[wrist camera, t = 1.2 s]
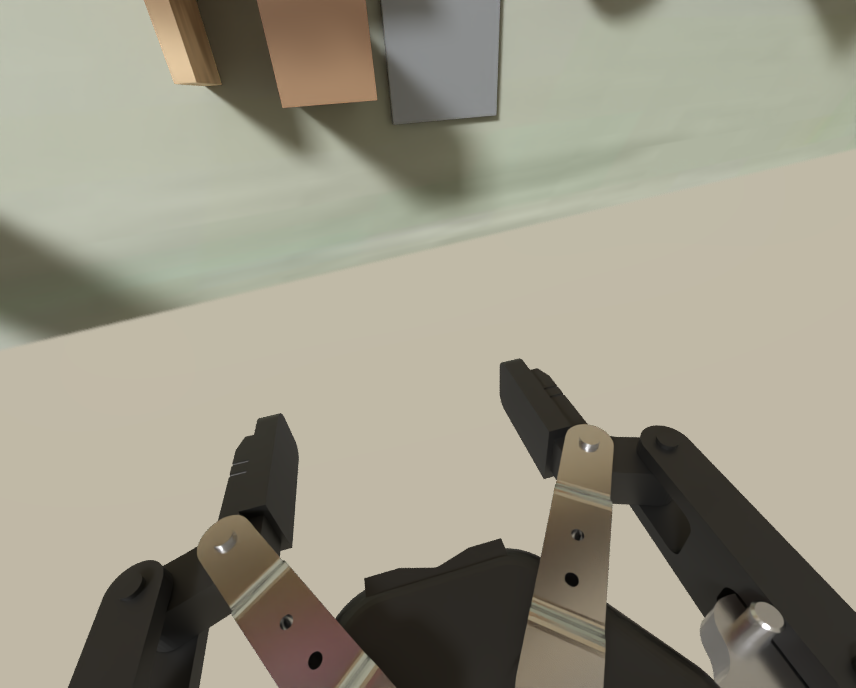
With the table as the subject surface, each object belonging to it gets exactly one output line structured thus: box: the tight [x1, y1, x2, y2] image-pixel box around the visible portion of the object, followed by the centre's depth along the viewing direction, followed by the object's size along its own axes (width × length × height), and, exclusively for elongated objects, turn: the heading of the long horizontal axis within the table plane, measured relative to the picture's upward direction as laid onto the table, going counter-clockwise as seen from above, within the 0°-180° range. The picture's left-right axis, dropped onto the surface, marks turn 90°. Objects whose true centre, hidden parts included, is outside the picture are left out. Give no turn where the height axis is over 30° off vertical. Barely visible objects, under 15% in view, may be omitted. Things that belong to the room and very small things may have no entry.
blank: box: [257, 0, 377, 108], centre depth 23 cm, size 5×5×12 cm
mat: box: [380, 0, 500, 125], centre depth 30 cm, size 9×9×1 cm
